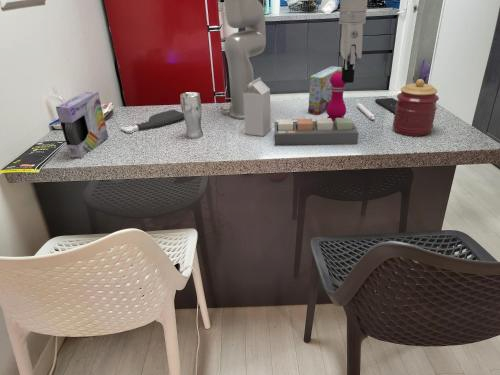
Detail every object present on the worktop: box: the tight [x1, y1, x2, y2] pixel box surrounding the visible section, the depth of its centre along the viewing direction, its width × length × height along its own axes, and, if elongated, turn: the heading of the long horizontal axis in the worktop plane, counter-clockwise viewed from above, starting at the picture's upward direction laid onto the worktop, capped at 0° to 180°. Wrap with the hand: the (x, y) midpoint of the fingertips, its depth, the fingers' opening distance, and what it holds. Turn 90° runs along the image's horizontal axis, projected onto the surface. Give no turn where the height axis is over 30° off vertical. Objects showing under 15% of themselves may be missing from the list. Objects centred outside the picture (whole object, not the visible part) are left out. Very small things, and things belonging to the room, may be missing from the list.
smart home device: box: [374, 97, 398, 116], centre depth 153 cm, size 8×2×20 cm
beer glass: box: [180, 91, 204, 139], centre depth 132 cm, size 7×7×15 cm
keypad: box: [273, 120, 359, 147], centre depth 127 cm, size 27×12×4 cm, turn 86°
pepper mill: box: [325, 68, 347, 121], centre depth 136 cm, size 7×7×20 cm
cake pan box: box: [55, 90, 109, 159], centre depth 125 cm, size 19×5×18 cm, turn 170°
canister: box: [392, 78, 440, 137], centre depth 126 cm, size 13×13×18 cm
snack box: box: [307, 66, 343, 116], centre depth 154 cm, size 21×6×15 cm, turn 147°
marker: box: [356, 102, 376, 121], centre depth 147 cm, size 18×2×2 cm, turn 3°
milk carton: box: [243, 76, 272, 137], centre depth 131 cm, size 7×7×19 cm
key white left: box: [277, 118, 294, 131], centre depth 126 cm, size 5×5×4 cm
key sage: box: [335, 117, 354, 130], centre depth 125 cm, size 5×5×4 cm
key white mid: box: [315, 117, 333, 130], centre depth 125 cm, size 5×5×4 cm
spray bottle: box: [119, 109, 185, 134], centre depth 148 cm, size 3×11×24 cm
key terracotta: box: [296, 118, 313, 131], centre depth 126 cm, size 5×5×4 cm
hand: (347, 81), depth 118 cm, fingers closed
